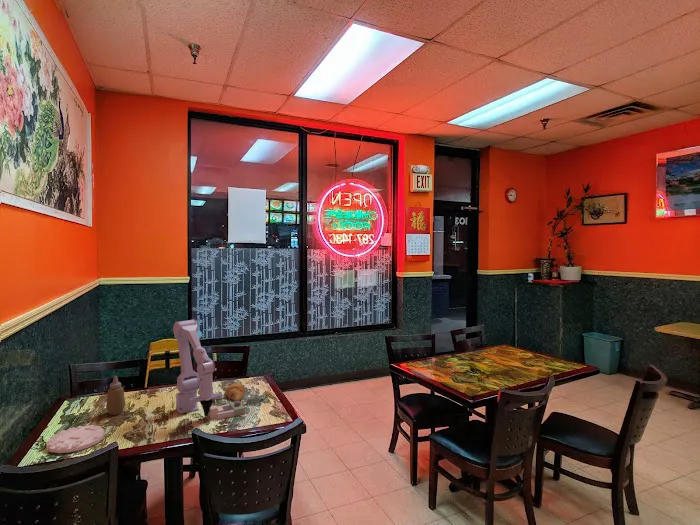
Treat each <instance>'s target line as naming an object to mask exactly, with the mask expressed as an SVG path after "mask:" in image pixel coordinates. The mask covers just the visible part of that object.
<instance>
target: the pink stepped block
mask: <svg viewBox="0 0 700 525" xmlns="http://www.w3.org/2000/svg"><path fill="white" fill-rule="evenodd" d="M219 406H220V407H217V404H215V405H211V407H210V410H209V414H208V416H209V418H210V419H215V418H216V419H217V413H220V412H225V411H224V410H223V408H222V407H221V406H222V405H219Z"/></svg>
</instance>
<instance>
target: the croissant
mask: <svg viewBox="0 0 700 525" xmlns="http://www.w3.org/2000/svg"><path fill="white" fill-rule="evenodd" d="M224 394H225V396H226V397H227V398H229V399H230V400H233V402H235V401H241V400H242V399H243V398H244V396H245V394H246V390H245V388H244V386H243V384H242V383H239V382H233V383H232V384H229V385H228V386H227V387H226V389H225V390H224Z"/></svg>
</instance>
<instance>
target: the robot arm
mask: <svg viewBox="0 0 700 525" xmlns="http://www.w3.org/2000/svg"><path fill="white" fill-rule="evenodd" d="M198 326H199V325H198V322H197V321H196V319H193V318H192V319H190V320H189V319H188V320H182V321H175V322H174V324H173V326H172V330H173V335H174V339H176V341H177V348H178V356H179V362H180V368H181V373H180V374H179V375H178V376H177V377H176V382H177V383H176V388H177V391H178V392H177V393H176V394H175V409H176V412H177V413H178V414H184V413H189V412H193V411H194V412H195V411H199V410H200V408H199V406H198V405H197V404H198V403H200V405H201V407H202V410H203V415H204V417H208V416H209V415H208V414H209V410H210V407H211V406H213V403H214V401H213V400H215V399H216V400H217V399H223V393H222V392H216V393H213V390H214V389H213V387H214V386H213V373H214V372H215V371H216V370H215V369H216V365H215V362H214V361H213V360H212V359H211V358H210V357H209V355H208V354H207V351H206V349H205V347H202V346H201V345H202V344H201V341H200V338H199V336H198V333H197V332H198ZM189 343H190V344H189ZM190 346H191V348H192V349H193V351H192V355H193V357H194V360H195V362H196V365H197V367H196V371H197V372H196V371H195V370H194V369H193V364H192V358H191V357H192V356H191V349H190ZM197 391H199V395H197V393H198V392H197Z"/></svg>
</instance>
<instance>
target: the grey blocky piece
mask: <svg viewBox="0 0 700 525" xmlns="http://www.w3.org/2000/svg"><path fill="white" fill-rule="evenodd" d="M216 406H217V405H216ZM220 406H221V407H222V408H223V410H224V412H220V413H217V418H216V419H217V420H222V419H226V418H231V417H238V416H242V415H246V407H245V406H244V405H243V404H242V401H241V400H239V401H232V402H231V401H230V402H229V403H227V404H223V405H218V406H217V407H220Z"/></svg>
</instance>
